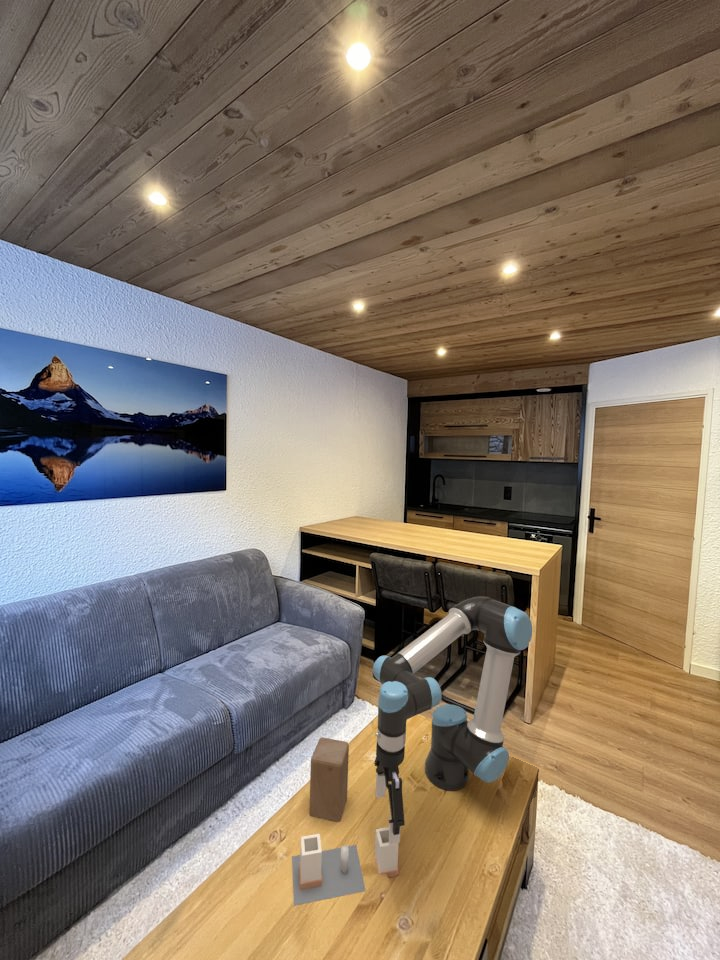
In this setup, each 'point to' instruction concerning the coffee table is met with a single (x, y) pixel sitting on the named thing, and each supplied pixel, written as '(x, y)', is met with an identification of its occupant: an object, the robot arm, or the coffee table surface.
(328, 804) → the wooden block
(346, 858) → the pin board
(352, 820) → the coffee table surface
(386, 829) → the sleeve
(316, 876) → the sleeve
